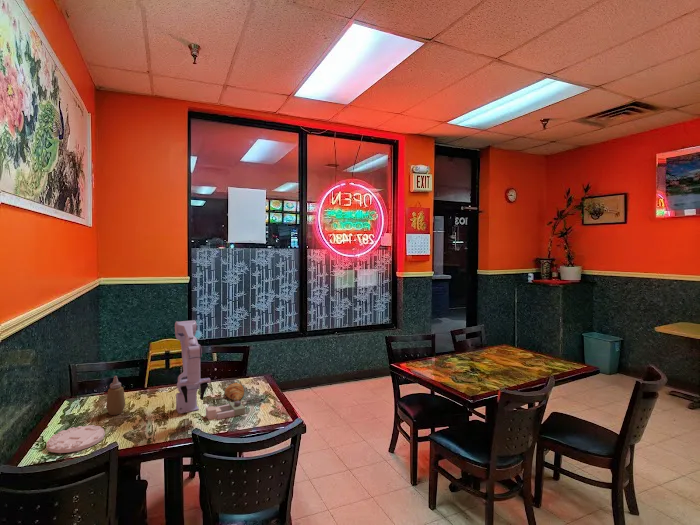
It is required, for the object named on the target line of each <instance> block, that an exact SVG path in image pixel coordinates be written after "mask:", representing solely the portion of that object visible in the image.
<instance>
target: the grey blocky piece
mask: <svg viewBox="0 0 700 525" xmlns="http://www.w3.org/2000/svg"><path fill="white" fill-rule="evenodd" d="M214 407H215V408H216V407H219V408H220V409H221V412H220V413H217V418H216V419H217V420H222V419H226V418H231V417H238V416H242V415H246V407H245V406H244V405H243V404H242V401H241V400H239V401H232V402H231V401H230V402H229V403H227V404H223V405H218V406H214Z"/></svg>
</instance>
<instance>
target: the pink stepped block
mask: <svg viewBox="0 0 700 525" xmlns="http://www.w3.org/2000/svg"><path fill="white" fill-rule="evenodd" d="M215 407H216V408H215ZM220 412H221V409H220V408H219V407H217V406H215V405H211V406H206V407H205V417H206V418H207V420H213V419H217V413H220Z"/></svg>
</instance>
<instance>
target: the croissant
mask: <svg viewBox="0 0 700 525" xmlns="http://www.w3.org/2000/svg"><path fill="white" fill-rule="evenodd" d="M224 395H225V396H226V397H227V398H228V399H230V400H232V401H233V402H235V401H241V400H242V398H243V397H244V395H245V389H244V386H243V385H242V384H240V383H238V382H233V383H231V384H229V385H228V386H227V387H226V388H225V390H224Z"/></svg>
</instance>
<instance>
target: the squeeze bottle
mask: <svg viewBox="0 0 700 525" xmlns="http://www.w3.org/2000/svg"><path fill="white" fill-rule="evenodd" d="M125 405H126V398H125V390H124V387H123V386H122V382H120V381H119V379H118V376H117V375H114V376H113V380H112V382H111V383H110V384H109V388H108V390H107V395H106V405H105V406H106V407H105V409H106V410H107V412H108V414H109V415H110V416H116V415H120V414H122V413H123V412H124V410H125Z"/></svg>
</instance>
